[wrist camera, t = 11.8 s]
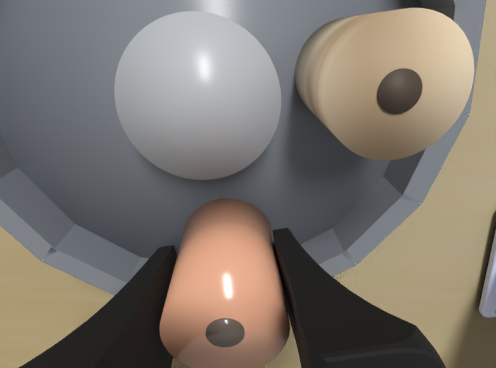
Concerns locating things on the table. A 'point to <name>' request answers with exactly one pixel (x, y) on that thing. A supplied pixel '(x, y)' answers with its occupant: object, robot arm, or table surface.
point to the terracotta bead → (225, 290)
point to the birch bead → (387, 80)
